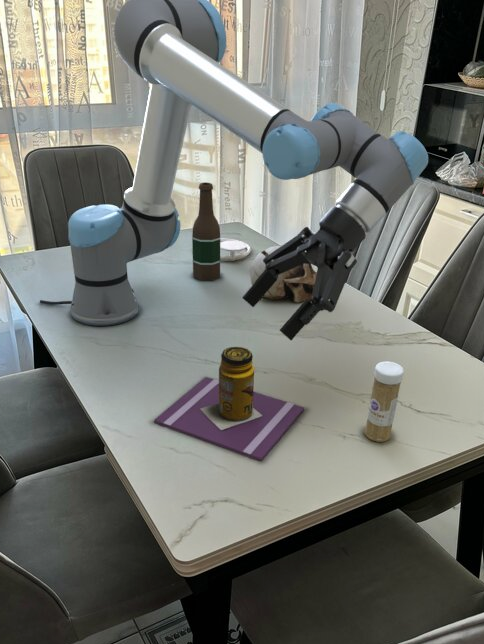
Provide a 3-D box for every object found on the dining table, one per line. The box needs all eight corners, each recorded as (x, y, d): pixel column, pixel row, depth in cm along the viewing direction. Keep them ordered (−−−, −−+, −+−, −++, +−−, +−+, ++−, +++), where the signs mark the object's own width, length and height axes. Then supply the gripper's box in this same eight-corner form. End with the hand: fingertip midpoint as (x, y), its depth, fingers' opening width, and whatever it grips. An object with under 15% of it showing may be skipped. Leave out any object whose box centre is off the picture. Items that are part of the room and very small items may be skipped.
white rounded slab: (238, 225, 185) (265, 246, 170) (238, 239, 188) (265, 261, 172) (185, 230, 180) (209, 252, 164) (186, 244, 182) (209, 268, 166)
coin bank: (332, 291, 155) (333, 241, 147) (292, 319, 145) (290, 267, 137) (284, 277, 163) (282, 229, 155) (242, 302, 153) (238, 252, 145)
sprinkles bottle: (359, 435, 103) (369, 367, 96) (372, 424, 106) (384, 357, 99) (382, 446, 101) (395, 377, 93) (395, 434, 104) (409, 366, 96)
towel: (154, 422, 104) (153, 419, 104) (205, 379, 117) (205, 376, 117) (261, 461, 96) (261, 458, 96) (304, 410, 109) (304, 407, 109)
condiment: (262, 416, 106) (265, 356, 99) (221, 431, 102) (221, 370, 95) (240, 397, 111) (241, 339, 104) (200, 410, 107) (198, 351, 100)
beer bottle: (225, 273, 164) (226, 181, 151) (214, 283, 158) (214, 189, 144) (199, 268, 166) (197, 178, 153) (187, 278, 160) (184, 185, 146)
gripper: (409, 258, 92) (316, 362, 95) (322, 213, 111) (246, 301, 113) (386, 228, 87) (289, 338, 90) (299, 186, 106) (220, 279, 108)
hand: (265, 318), depth 101 cm, fingers open, 13 cm apart
